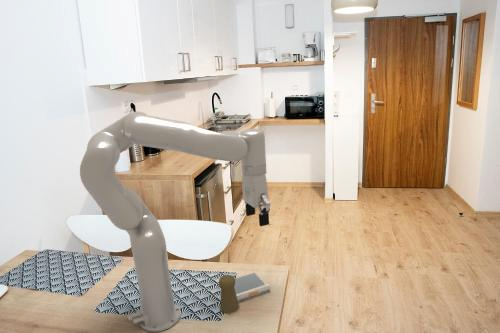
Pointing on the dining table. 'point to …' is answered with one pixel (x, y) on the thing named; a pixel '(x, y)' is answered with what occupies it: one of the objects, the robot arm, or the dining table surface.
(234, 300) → the olive brown pepper mill
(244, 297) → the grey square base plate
